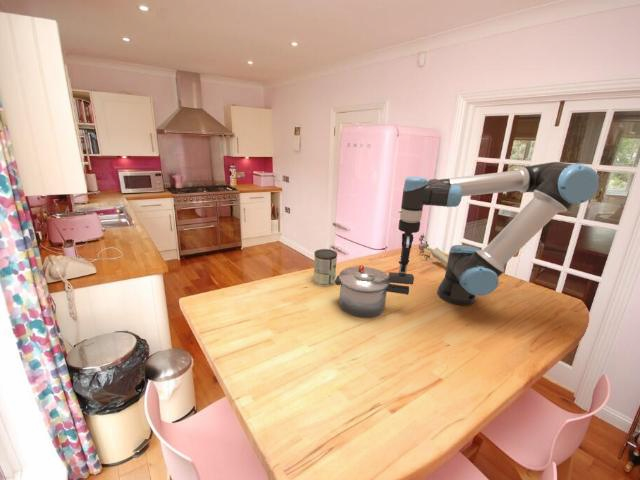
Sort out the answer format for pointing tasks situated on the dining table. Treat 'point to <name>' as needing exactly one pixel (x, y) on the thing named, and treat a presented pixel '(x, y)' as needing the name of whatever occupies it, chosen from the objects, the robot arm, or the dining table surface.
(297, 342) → the dining table surface
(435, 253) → the flower vase
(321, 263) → the coffee can
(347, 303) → the pot
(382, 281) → the lid
